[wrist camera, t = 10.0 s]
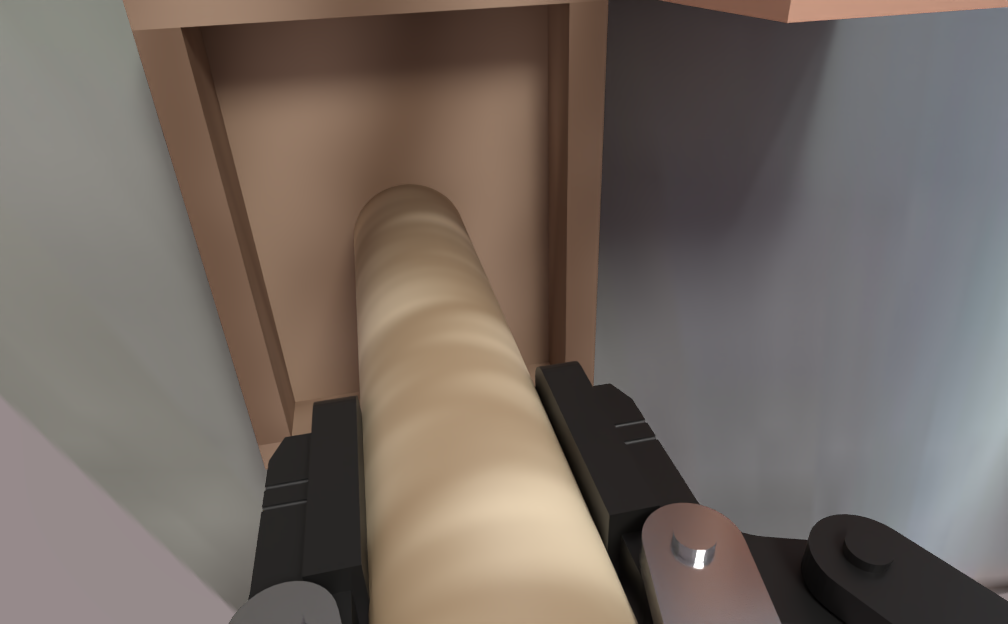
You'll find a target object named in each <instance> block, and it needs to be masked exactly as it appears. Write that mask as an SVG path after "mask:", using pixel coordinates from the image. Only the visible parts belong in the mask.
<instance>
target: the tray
mask: <svg viewBox="0 0 1008 624" xmlns="http://www.w3.org/2000/svg"><path fill="white" fill-rule="evenodd" d="M123 3H124V6H125V9H126V12H127V16H128V19H129V22H130V26H131V29H132V32H133V35H134V39H135V42H136V45H137V49H138V52H139V55H140V58H141V62H142V65H143V68H144V72H145V75H146V78H147V81H148V85H149V88H150V91H151V95H152V98H153V101H154V104H155V108H156V111H157V114H158V118H159V121H160V124H161V127H162V131H163V134H164V137H165V141H166V144H167V147H168V150H169V154H170V157H171V160H172V164H173V167H174V170H175V173H176V177H177V180H178V183H179V187H180V190H181V193H182V196H183V200H184V203H185V206H186V209H187V213H188V216H189V219H190V223H191V226H192V229H193V232H194V236H195V239H196V242H197V246H198V249H199V252H200V255H201V259H202V262H203V265H204V269H205V272H206V275H207V278H208V282H209V285H210V288H211V292H212V295H213V298H214V301H215V305H216V308H217V311H218V315H219V318H220V321H221V324H222V328H223V331H224V334H225V338H226V341H227V344H228V347H229V351H230V354H231V357H232V361H233V364H234V367H235V370H236V374H237V377H238V380H239V384H240V387H241V390H242V393H243V397H244V400H245V403H246V407H247V410H248V413H249V416H250V420H251V423H252V426H253V430H254V433H255V436H256V439H257V443H258V446H259V449H260V453H261V456H262V459H263V462H264V466H265V469H268V463H269V460H270V458H271V457H272V455H273V454H274V452H275V451H276V450H277V448H278V447H279V445H280V444H281V442H282V441H283V439H284V438H285V437H289V436H295V435H301V434H307V433H311V427H312V411H313V403H314V402H317V401H324V400H330V399H336V398H342V397H349V396H355V395H357V396H358V399H359V403H360V384H359V358H358V332H357V306H356V280H355V254H354V229H355V224H356V221H357V218H358V216H359V214H360V212H361V210H362V209H363V207H364V206H365V205H366V203H367V202H368V201H369V200H370V199H371V198H373V197H374V196H375V195H377V194H378V193H380V192H381V191H383V190H386V189H388V188H390V187H394V186H398V185H403V184H416V185H422V186H426V187H429V188H432V189H434V190H436V191H438V192H440V193H441V194H443V195H444V196H446V197H447V198H448V199H449V200H450V201H451V202H452V203H453V204H454V206H455V207H456V209H457V210H458V212H459V214H460V216H461V218H462V221H463V223H464V225H465V228H466V230H467V232H468V234H469V237H470V239H471V241H472V244H473V246H474V248H475V251H476V253H477V255H478V257H479V260H480V262H481V264H482V267H483V269H484V271H485V273H486V276H487V278H488V280H489V283H490V285H491V287H492V290H493V292H494V294H495V296H496V299H497V301H498V303H499V306H500V308H501V310H502V312H503V315H504V317H505V319H506V322H507V324H508V326H509V328H510V331H511V333H512V335H513V338H514V340H515V342H516V345H517V347H518V349H519V351H520V354H521V356H522V358H523V361H524V363H525V365H526V367H527V370H528V372H529V374H530V377H531V379H532V381H533V384H534V386H535V372H536V368H537V367H540V366H546V365H552V364H559V363H565V362H571V361H578V362H579V363H580V365H581V366H582V368H583V370H584V372H585V374H586V375H587V377H588V379H589V381H590V382H591V384H592V386H593V383H594V357H595V331H596V306H597V280H598V255H599V229H600V204H601V178H602V152H603V127H604V101H605V76H606V50H607V25H608V0H123Z"/></svg>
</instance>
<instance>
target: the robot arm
mask: <svg viewBox="0 0 1008 624" xmlns="http://www.w3.org/2000/svg"><path fill="white" fill-rule="evenodd" d="M535 388H536V390H537V393H538V395H539V397H540V400H541V402H542V404H543V406H544V409H545V411H546V413H547V416H548V418H549V420H550V423H551V425H552V427H553V429H554V432H555V434H556V436H557V439H558V441H559V443H560V445H561V448H562V450H563V452H564V455H565V457H566V459H567V462H568V464H569V466H570V468H571V471H572V473H573V475H574V478H575V480H576V482H577V484H578V487H579V489H580V491H581V494H582V496H583V498H584V501H585V503H586V505H587V507H588V510H589V512H590V514H591V517H592V519H593V521H594V523H595V526H596V528H597V530H598V533H599V535H600V537H601V539H602V542H603V544H604V546H605V549H606V551H607V553H608V555H609V558H610V560H611V562H612V565H613V567H614V569H615V572H616V574H617V576H618V578H619V581H620V583H621V585H622V588H623V590H624V592H625V594H626V597H627V599H628V601H629V604H630V606H631V608H632V611H633V613H634V615H635V617H636V620H637V622H638V624H1008V601H1007V600H1005V599H1003V598H1002V597H1000V596H999V595H997V594H995V593H994V592H992V591H991V590H989V589H987V588H986V587H984V586H983V585H981V584H979V583H978V582H976V581H975V580H973V579H971V578H970V577H968V576H967V575H965V574H963V573H962V572H960V571H959V570H957V569H956V568H954V567H952V566H951V565H949V564H948V563H946V562H944V561H943V560H941V559H940V558H938V557H936V556H935V555H933V554H932V553H930V552H928V551H927V550H925V549H924V548H922V547H920V546H919V545H917V544H916V543H914V542H912V541H911V540H909V539H908V538H906V537H904V536H903V535H901V534H900V533H898V532H897V531H895V530H893V529H891V528H890V527H888V526H886V525H884V524H882V523H880V522H877V521H875V520H872V519H869V518H866V517H862V516H857V515H848V514H842V515H833V516H829V517H826V518H823V519H822V520H820V521H819V522H817V523H816V524H815V525H814V526H813V528H812V530H811V532H810V535H809V538H808V540H800V539H787V538H774V537H762V536H755V535H750V534H746V533H742V532H740V530H739V529H738V528H737V526H736V525H735V524H734V523H733V522H732V521H731V520H730V519H728V518H727V517H725V516H724V515H723V514H721V513H719V512H717V511H716V510H713V509H711V508H709V507H706V506H702V505H700V504H699V503H698V501H697V500H696V498H695V497H694V495H693V494H692V492H691V491H690V489H689V487H688V486H687V484H686V483H685V481H684V480H683V478H682V476H681V475H680V473H679V472H678V470H677V469H676V467H675V466H674V464H673V462H672V461H671V459H670V458H669V456H668V455H667V453H666V451H665V450H664V448H663V447H662V445H661V444H660V442H659V440H656V438H655V434H654V433H653V431H652V429H651V428H650V426H649V425H648V423H645V418H644V417H643V415H642V414H641V412H640V411H639V409H638V408H637V406H636V404H635V403H634V401H633V400H632V399H631V398H630V397H629V396H627V395H626V394H624V393H623V392H621V391H620V390H619V389H617V388H616V387H614V386H613V385H612V384H604V385H598V386H592V384H591V382H590V381H589V379H588V377H587V375H586V374H585V372H584V370H583V368H582V366H581V365H580V363H579V362H578V361H571V362H565V363H559V364H552V365H546V366H540V367H537V368H536V372H535ZM265 487H266V491H264V498H263V505H262V508H263V512H261V519H260V526H259V533H258V540H257V547H256V555H255V562H254V569H253V576H252V583H251V590H250V595H249V599H248V601H247V602H246V603H245V604H244V605H243V606H242V607H241V608H240V609H239V610H238V611H237V612H236V614H235V615H234V616H233V617H232V619H231V621H230V622H229V624H369V617H368V613H369V603H370V595H369V572H368V548H367V524H366V500H365V477H364V453H363V429H362V414H361V408H360V403H359V399H358V396H357V395H355V396H349V397H342V398H336V399H330V400H324V401H317V402H314V403H313V411H312V427H311V433H307V434H301V435H295V436H289V437H285V438H284V439H283V441H282V442H281V444H280V445H279V447H278V448H277V450H276V451H275V452H274V454H273V455H272V457H271V458H270V460H269V463H268V470H267V477H266V484H265Z"/></svg>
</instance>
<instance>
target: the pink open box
mask: <svg viewBox="0 0 1008 624" xmlns="http://www.w3.org/2000/svg"><path fill="white" fill-rule="evenodd" d="M660 1H665V2H671V3H677V4H683V5H688V6H694V7H700V8H705V9H711V10H717V11H722V12H728V13H734V14H739V15H745V16H751V17H756V18H762V19H768V20H774V21H779V22H785V23H793V22H807V21H820V20H834V19H848V18H862V17H876V16H889V15H903V14H917V13H931V12H945V11H958V10H972V9H986V8H1000V7H1008V0H660Z"/></svg>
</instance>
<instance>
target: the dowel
mask: <svg viewBox="0 0 1008 624" xmlns="http://www.w3.org/2000/svg"><path fill="white" fill-rule="evenodd" d="M354 254H355V280H356V306H357V332H358V358H359V384H360V408H361V414H362V429H363V453H364V477H365V500H366V524H367V548H368V572H369V595H370V603H369V613H368V617H369V624H638V622H637V620H636V617H635V615H634V613H633V611H632V608H631V606H630V604H629V601H628V599H627V597H626V594H625V592H624V590H623V588H622V585H621V583H620V581H619V578H618V576H617V574H616V572H615V569H614V567H613V565H612V562H611V560H610V558H609V555H608V553H607V551H606V549H605V546H604V544H603V542H602V539H601V537H600V535H599V533H598V530H597V528H596V526H595V523H594V521H593V519H592V517H591V514H590V512H589V510H588V507H587V505H586V503H585V501H584V498H583V496H582V494H581V491H580V489H579V487H578V484H577V482H576V480H575V478H574V475H573V473H572V471H571V468H570V466H569V464H568V462H567V459H566V457H565V455H564V452H563V450H562V448H561V445H560V443H559V441H558V439H557V436H556V434H555V432H554V429H553V427H552V425H551V423H550V420H549V418H548V416H547V413H546V411H545V409H544V406H543V404H542V402H541V400H540V397H539V395H538V393H537V390H536V388H535V386H534V384H533V381H532V379H531V377H530V374H529V372H528V370H527V367H526V365H525V363H524V361H523V358H522V356H521V354H520V351H519V349H518V347H517V345H516V342H515V340H514V338H513V335H512V333H511V331H510V328H509V326H508V324H507V322H506V319H505V317H504V315H503V312H502V310H501V308H500V306H499V303H498V301H497V299H496V296H495V294H494V292H493V290H492V287H491V285H490V283H489V280H488V278H487V276H486V273H485V271H484V269H483V267H482V264H481V262H480V260H479V257H478V255H477V253H476V251H475V248H474V246H473V244H472V241H471V239H470V237H469V234H468V232H467V230H466V228H465V225H464V223H463V221H462V218H461V216H460V214H459V212H458V210H457V209H456V207H455V206H454V204H453V203H452V202H451V201H450V200H449V199H448V198H447V197H446V196H444V195H443V194H441V193H440V192H438V191H436V190H434V189H432V188H429V187H426V186H422V185H416V184H403V185H398V186H394V187H390V188H388V189H386V190H383V191H381V192H380V193H378V194H377V195H375V196H374V197H373V198H371V199H370V200H369V201H368V202H367V203H366V205H365V206H364V207H363V209H362V210H361V212H360V214H359V216H358V218H357V221H356V224H355V229H354Z"/></svg>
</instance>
